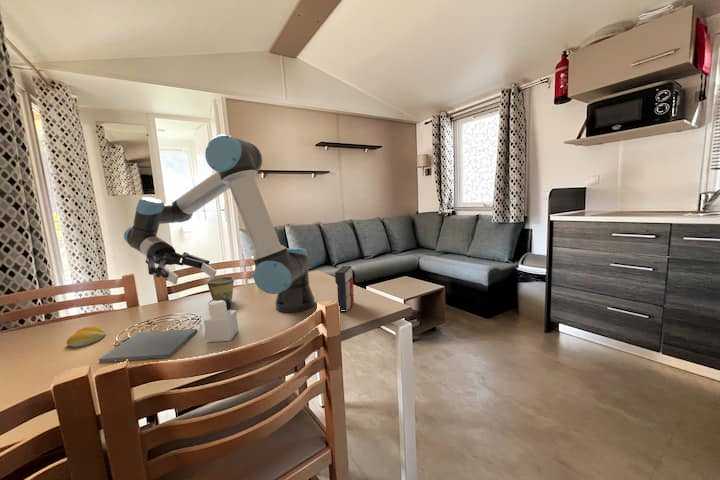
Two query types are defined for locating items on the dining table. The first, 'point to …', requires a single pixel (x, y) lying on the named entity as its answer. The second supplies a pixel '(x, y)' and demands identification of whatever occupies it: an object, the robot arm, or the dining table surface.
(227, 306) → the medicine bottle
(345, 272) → the dark grey box
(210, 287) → the ceramic cup
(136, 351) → the mat
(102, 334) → the yellow seashell
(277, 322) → the dining table surface
